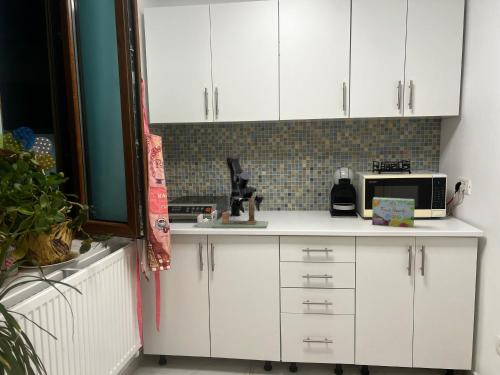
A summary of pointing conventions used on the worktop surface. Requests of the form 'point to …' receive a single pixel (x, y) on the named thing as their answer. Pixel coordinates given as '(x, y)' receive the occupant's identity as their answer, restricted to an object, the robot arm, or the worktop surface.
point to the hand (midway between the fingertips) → (251, 211)
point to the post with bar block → (251, 221)
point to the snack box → (393, 212)
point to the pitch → (230, 225)
